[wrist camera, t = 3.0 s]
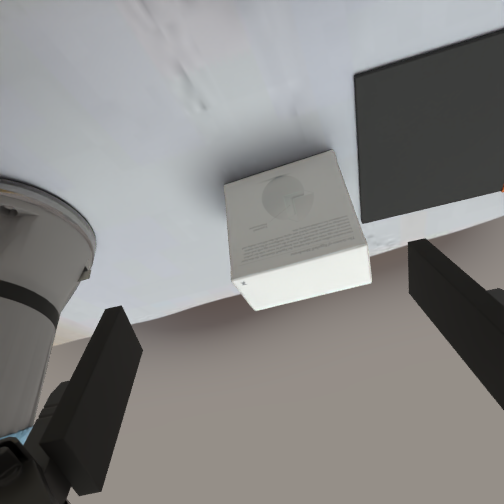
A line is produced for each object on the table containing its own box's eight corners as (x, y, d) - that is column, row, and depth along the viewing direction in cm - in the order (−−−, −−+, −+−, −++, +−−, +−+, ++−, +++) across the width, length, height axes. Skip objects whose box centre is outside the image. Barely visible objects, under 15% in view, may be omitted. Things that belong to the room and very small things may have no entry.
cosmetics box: (245, 225, 38) (254, 314, 32) (222, 183, 33) (227, 279, 27) (343, 197, 36) (373, 287, 30) (334, 147, 31) (368, 243, 25)
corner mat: (361, 221, 39) (362, 225, 39) (354, 75, 26) (356, 79, 26) (585, 167, 36) (589, 171, 35) (711, -35, 22) (719, -32, 22)
